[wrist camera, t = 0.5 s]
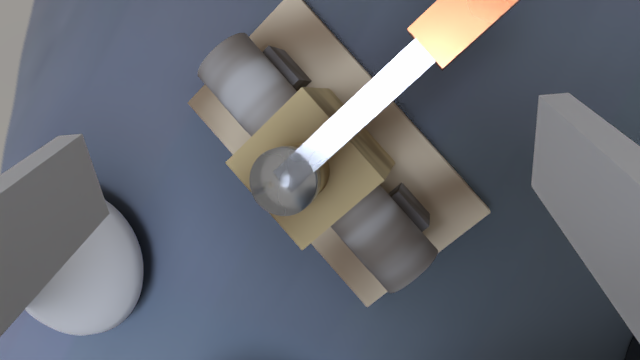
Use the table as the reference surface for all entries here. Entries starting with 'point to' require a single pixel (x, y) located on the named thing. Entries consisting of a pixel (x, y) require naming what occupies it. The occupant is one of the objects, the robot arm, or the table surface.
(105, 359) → the table surface
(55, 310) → the flower in vase
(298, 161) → the lever
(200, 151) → the table surface
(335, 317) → the table surface
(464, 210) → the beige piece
